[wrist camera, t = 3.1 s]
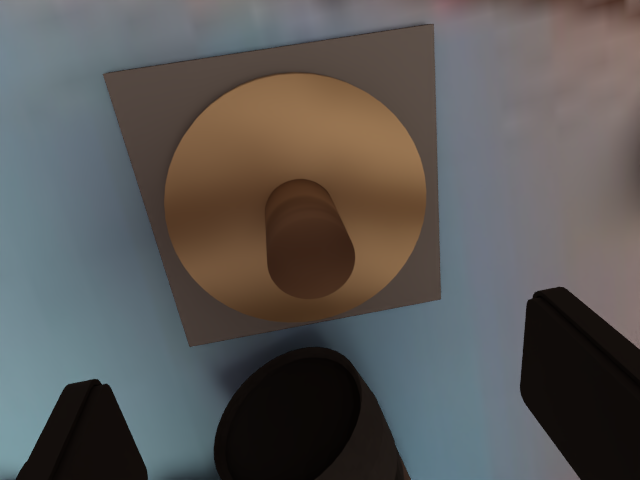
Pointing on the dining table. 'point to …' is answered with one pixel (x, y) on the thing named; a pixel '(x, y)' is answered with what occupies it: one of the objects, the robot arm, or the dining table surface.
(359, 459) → the binoculars
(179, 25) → the dining table surface
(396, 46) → the rubber mat
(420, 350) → the dining table surface
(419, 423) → the dining table surface
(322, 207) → the oak lid
